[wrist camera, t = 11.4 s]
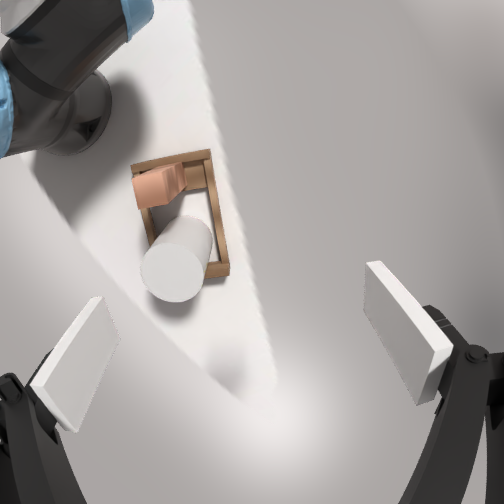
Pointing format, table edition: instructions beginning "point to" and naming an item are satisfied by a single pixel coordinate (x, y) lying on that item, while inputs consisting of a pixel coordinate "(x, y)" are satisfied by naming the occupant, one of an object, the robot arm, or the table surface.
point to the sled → (170, 185)
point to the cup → (177, 260)
